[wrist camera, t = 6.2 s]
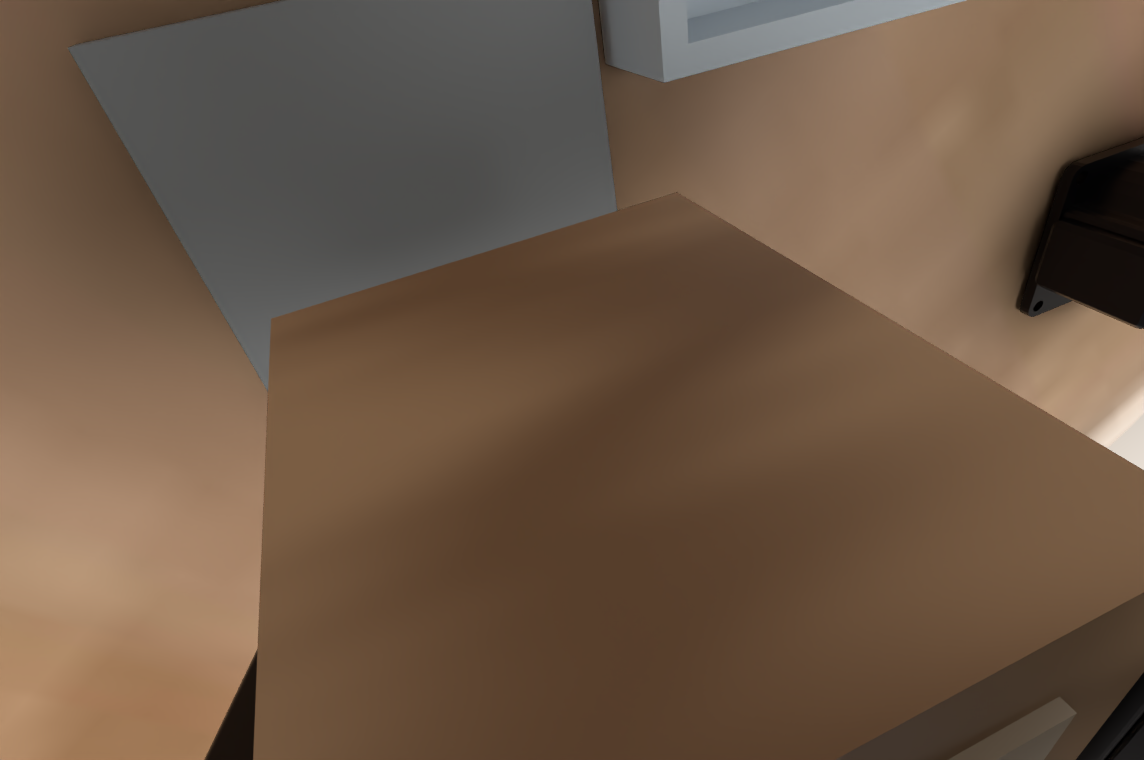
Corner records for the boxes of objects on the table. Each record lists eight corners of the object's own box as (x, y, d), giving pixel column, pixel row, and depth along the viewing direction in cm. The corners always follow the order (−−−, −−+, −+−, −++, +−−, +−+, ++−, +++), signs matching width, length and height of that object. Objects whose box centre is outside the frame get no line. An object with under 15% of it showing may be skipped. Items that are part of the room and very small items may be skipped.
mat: (573, -63, 14) (583, -64, 13) (623, 324, 20) (631, 332, 19) (76, 44, 12) (67, 47, 11) (302, 438, 18) (302, 450, 17)
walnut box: (676, 192, 8) (1273, 547, 3) (693, 470, 11) (1010, 867, 6) (271, 318, 7) (240, 1123, 2) (412, 585, 10) (530, 1167, 5)
